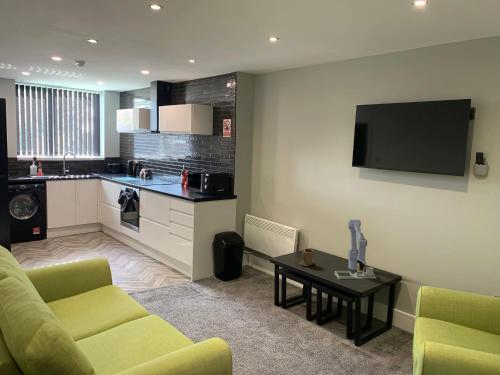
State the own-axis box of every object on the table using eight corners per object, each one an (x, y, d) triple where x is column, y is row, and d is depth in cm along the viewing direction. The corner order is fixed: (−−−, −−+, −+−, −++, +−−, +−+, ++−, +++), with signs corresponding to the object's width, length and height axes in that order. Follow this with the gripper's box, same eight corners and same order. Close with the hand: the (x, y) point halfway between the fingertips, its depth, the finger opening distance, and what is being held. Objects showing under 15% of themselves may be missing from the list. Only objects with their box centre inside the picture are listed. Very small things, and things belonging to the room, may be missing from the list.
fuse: (365, 275, 320) (366, 267, 319) (371, 275, 321) (371, 267, 320) (366, 276, 317) (367, 268, 316) (372, 276, 318) (373, 268, 317)
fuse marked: (357, 271, 319) (357, 263, 318) (362, 271, 320) (363, 263, 319) (358, 272, 316) (358, 264, 315) (364, 272, 317) (364, 264, 316)
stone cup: (306, 268, 336) (307, 252, 334) (297, 264, 346) (297, 248, 344) (318, 265, 346) (319, 249, 343) (309, 261, 355) (309, 245, 353)
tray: (334, 274, 324) (334, 271, 324) (349, 274, 325) (349, 271, 324) (338, 280, 311) (339, 276, 311) (354, 280, 312) (354, 276, 311)
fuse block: (351, 274, 323) (351, 270, 323) (372, 274, 324) (372, 270, 324) (355, 279, 313) (355, 275, 313) (376, 279, 314) (376, 275, 314)
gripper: (354, 251, 323) (353, 266, 325) (360, 256, 308) (358, 272, 310) (362, 251, 323) (361, 266, 325) (368, 256, 309) (367, 272, 311)
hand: (360, 269), depth 318 cm, fingers closed on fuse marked, 3 cm apart
